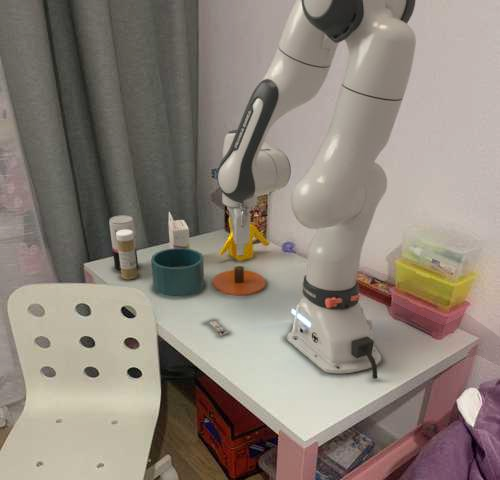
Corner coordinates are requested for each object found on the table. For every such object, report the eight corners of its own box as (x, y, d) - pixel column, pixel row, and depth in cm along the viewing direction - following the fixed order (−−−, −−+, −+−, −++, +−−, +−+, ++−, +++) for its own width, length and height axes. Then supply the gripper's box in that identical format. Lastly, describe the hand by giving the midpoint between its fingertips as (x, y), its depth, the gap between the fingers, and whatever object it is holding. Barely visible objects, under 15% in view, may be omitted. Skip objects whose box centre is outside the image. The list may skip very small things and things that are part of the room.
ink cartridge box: (191, 266, 145) (189, 219, 137) (174, 268, 144) (171, 220, 136) (185, 255, 152) (183, 209, 145) (169, 257, 151) (167, 210, 143)
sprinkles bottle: (133, 272, 141) (128, 227, 134) (140, 277, 138) (136, 232, 131) (118, 276, 138) (112, 231, 132) (125, 281, 135) (120, 236, 128)
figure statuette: (222, 267, 145) (222, 194, 134) (210, 258, 151) (209, 187, 140) (272, 256, 153) (276, 186, 142) (259, 247, 159) (261, 179, 148)
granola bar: (206, 324, 117) (206, 321, 117) (214, 322, 119) (214, 318, 118) (220, 337, 113) (220, 333, 112) (228, 335, 114) (229, 331, 113)
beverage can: (111, 267, 143) (104, 218, 135) (130, 261, 147) (125, 213, 139) (122, 275, 139) (116, 224, 131) (142, 268, 143) (137, 219, 135)
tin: (209, 294, 130) (209, 265, 126) (159, 301, 126) (156, 271, 122) (197, 273, 141) (196, 245, 137) (149, 279, 137) (147, 251, 133)
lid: (273, 293, 132) (274, 275, 129) (221, 300, 127) (221, 283, 124) (254, 270, 143) (255, 254, 141) (206, 277, 139) (206, 260, 136)
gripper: (256, 209, 114) (254, 263, 121) (248, 184, 132) (246, 232, 139) (229, 209, 114) (228, 263, 121) (224, 184, 131) (224, 232, 138)
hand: (238, 246), depth 130 cm, fingers open, 8 cm apart
